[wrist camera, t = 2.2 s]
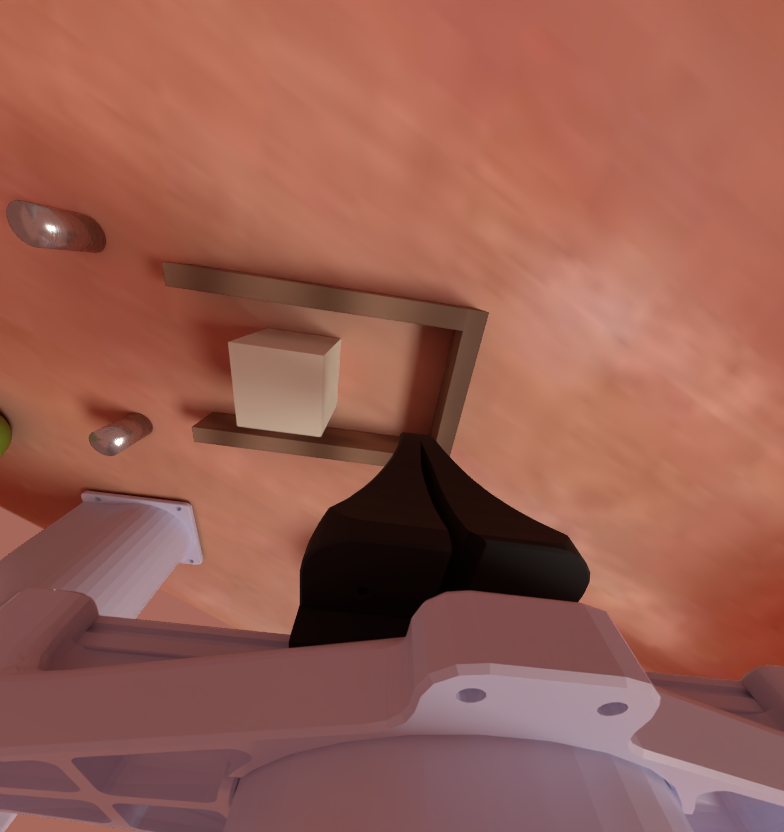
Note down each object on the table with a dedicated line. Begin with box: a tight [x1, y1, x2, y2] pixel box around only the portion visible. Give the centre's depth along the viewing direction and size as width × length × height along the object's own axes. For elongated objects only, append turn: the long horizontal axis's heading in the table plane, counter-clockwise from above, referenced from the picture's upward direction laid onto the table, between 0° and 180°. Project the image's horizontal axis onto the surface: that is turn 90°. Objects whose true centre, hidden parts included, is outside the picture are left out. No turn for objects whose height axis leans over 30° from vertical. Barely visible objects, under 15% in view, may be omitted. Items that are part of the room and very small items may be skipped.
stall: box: [161, 262, 489, 466], centre depth 19 cm, size 18×11×2 cm, turn 82°
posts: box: [6, 200, 153, 456], centre depth 18 cm, size 2×15×3 cm, turn 172°
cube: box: [228, 328, 341, 437], centre depth 18 cm, size 5×5×5 cm
